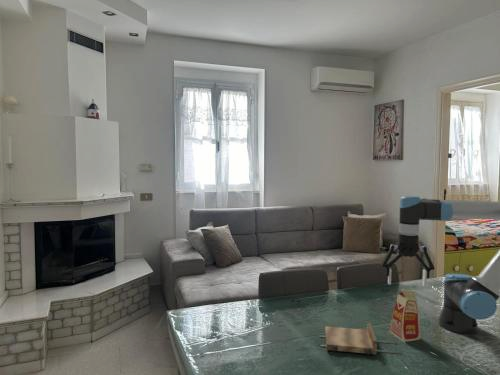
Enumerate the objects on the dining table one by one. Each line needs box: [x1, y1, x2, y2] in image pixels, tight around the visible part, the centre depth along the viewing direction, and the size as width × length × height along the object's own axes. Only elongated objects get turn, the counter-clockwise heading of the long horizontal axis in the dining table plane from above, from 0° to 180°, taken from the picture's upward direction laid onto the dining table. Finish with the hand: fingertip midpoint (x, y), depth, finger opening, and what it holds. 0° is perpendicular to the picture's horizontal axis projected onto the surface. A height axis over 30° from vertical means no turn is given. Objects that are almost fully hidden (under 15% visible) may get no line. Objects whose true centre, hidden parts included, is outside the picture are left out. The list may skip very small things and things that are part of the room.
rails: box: [319, 335, 403, 355], centre depth 144 cm, size 30×9×1 cm, turn 80°
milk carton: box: [389, 288, 421, 343], centre depth 152 cm, size 9×9×20 cm
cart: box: [324, 322, 378, 355], centre depth 145 cm, size 18×18×5 cm
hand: (406, 284), depth 152 cm, fingers open, 13 cm apart
